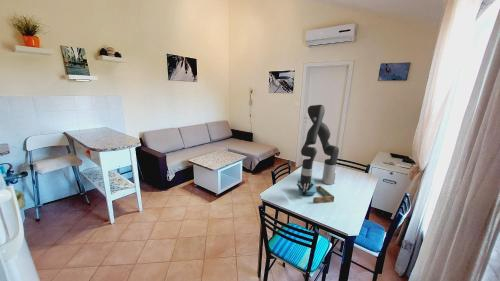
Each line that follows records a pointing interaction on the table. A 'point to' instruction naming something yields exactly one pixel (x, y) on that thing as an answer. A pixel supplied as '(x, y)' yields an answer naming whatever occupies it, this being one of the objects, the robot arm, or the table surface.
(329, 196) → the brown wooden u shape
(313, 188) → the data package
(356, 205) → the table surface
